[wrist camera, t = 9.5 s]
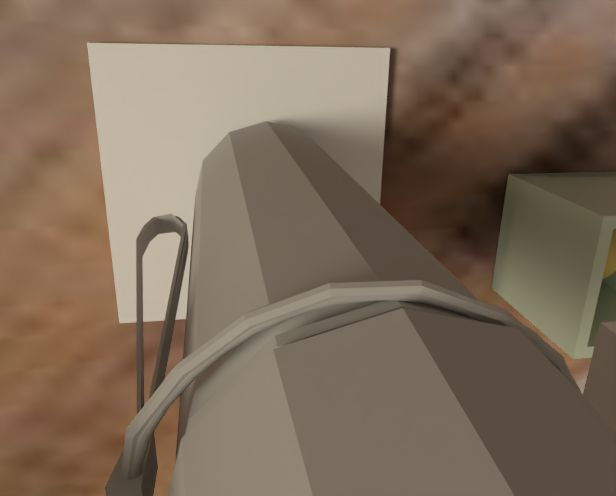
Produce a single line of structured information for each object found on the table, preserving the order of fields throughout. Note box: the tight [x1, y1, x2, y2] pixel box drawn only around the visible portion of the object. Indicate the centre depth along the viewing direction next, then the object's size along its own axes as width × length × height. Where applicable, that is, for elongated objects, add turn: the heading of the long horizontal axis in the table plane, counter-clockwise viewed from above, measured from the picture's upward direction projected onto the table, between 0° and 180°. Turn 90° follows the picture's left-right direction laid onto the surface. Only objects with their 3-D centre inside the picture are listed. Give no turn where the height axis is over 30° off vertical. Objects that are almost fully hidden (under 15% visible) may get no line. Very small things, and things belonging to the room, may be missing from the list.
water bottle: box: [105, 121, 616, 496], centre depth 17 cm, size 9×8×25 cm
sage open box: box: [492, 171, 616, 359], centre depth 29 cm, size 7×7×8 cm
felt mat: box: [87, 43, 390, 323], centre depth 28 cm, size 14×14×1 cm
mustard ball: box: [602, 229, 616, 279], centre depth 30 cm, size 4×4×4 cm
